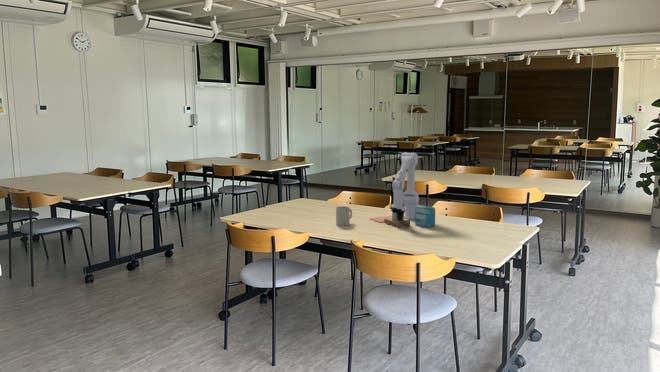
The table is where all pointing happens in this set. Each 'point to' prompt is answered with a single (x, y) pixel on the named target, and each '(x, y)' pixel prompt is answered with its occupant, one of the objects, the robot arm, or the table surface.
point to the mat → (381, 219)
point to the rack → (397, 223)
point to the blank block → (396, 217)
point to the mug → (343, 215)
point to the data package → (425, 216)
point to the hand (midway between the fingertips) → (398, 220)
